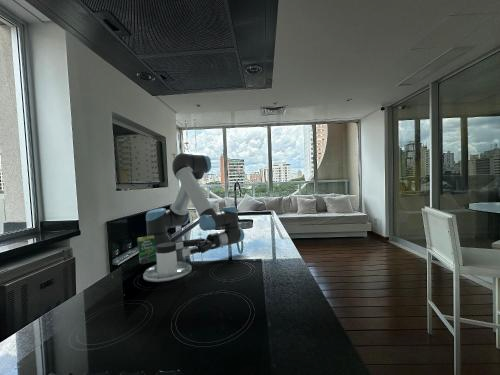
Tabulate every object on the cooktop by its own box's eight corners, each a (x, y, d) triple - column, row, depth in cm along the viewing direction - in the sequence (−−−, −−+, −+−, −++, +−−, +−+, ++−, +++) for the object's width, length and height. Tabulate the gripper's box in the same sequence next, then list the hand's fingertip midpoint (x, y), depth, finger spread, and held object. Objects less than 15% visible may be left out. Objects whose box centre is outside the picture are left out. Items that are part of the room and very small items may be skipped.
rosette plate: (137, 273, 113) (136, 269, 113) (179, 262, 126) (179, 257, 126) (153, 286, 97) (152, 281, 97) (199, 271, 110) (199, 266, 110)
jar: (171, 267, 114) (169, 241, 114) (182, 271, 109) (180, 243, 109) (152, 274, 108) (150, 245, 107) (163, 278, 102) (161, 248, 102)
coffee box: (139, 265, 125) (137, 238, 125) (139, 263, 128) (137, 237, 127) (156, 261, 129) (154, 235, 128) (156, 260, 131) (154, 234, 131)
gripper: (231, 252, 118) (189, 264, 104) (204, 244, 137) (165, 253, 123) (230, 236, 117) (188, 246, 104) (203, 230, 137) (164, 238, 123)
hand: (175, 250), depth 114 cm, fingers open, 13 cm apart
